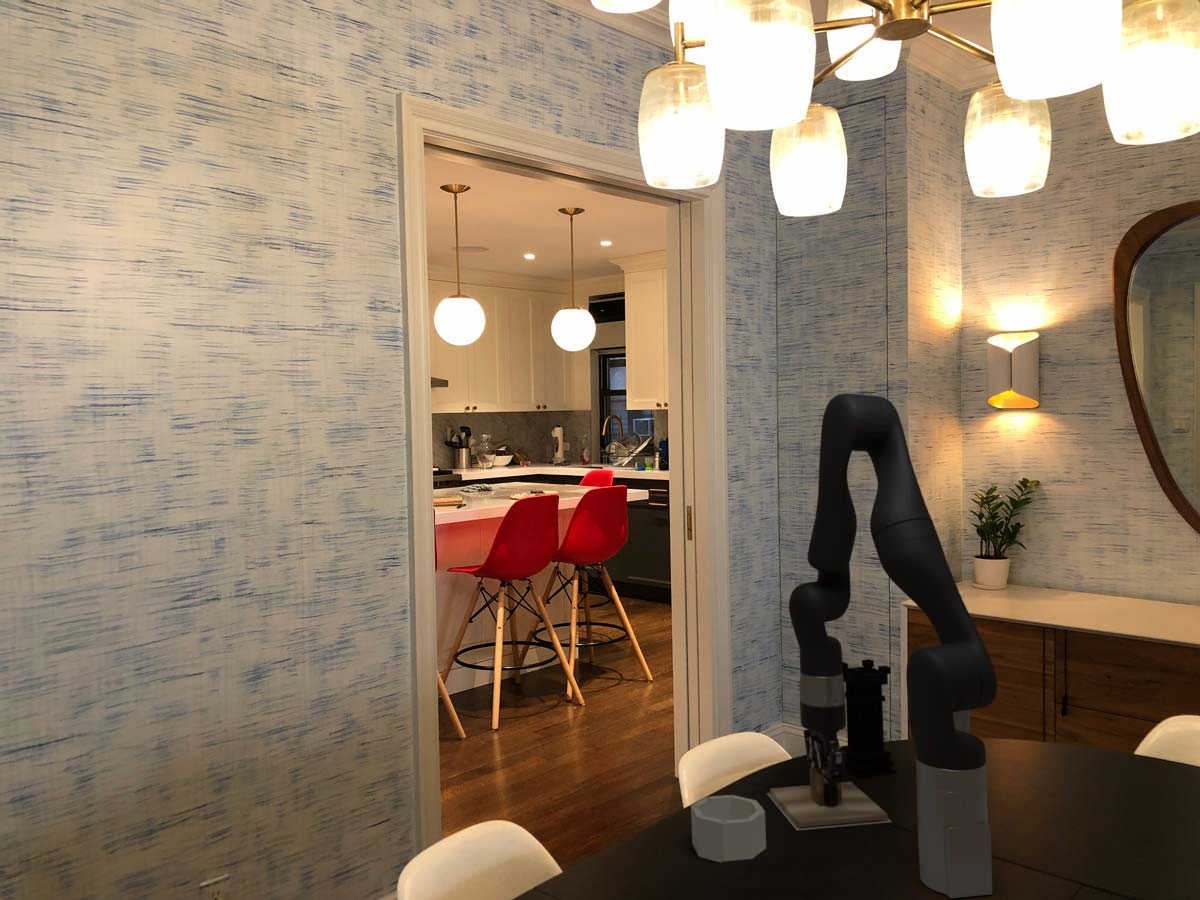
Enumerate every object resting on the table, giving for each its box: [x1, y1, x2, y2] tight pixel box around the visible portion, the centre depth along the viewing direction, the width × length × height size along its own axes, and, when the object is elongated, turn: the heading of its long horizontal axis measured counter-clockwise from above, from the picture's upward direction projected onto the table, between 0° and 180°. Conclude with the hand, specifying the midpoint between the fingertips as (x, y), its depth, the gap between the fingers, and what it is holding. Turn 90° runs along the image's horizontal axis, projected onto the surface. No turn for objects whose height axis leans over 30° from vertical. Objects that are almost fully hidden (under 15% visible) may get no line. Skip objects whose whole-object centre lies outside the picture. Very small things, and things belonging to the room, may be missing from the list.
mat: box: [766, 792, 892, 831], centre depth 155 cm, size 16×16×1 cm
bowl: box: [690, 794, 767, 864], centre depth 141 cm, size 11×11×6 cm
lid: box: [769, 767, 889, 827], centre depth 154 cm, size 15×15×6 cm
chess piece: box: [841, 658, 898, 779], centre depth 172 cm, size 8×8×20 cm
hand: (826, 799), depth 154 cm, fingers closed on lid, 4 cm apart
